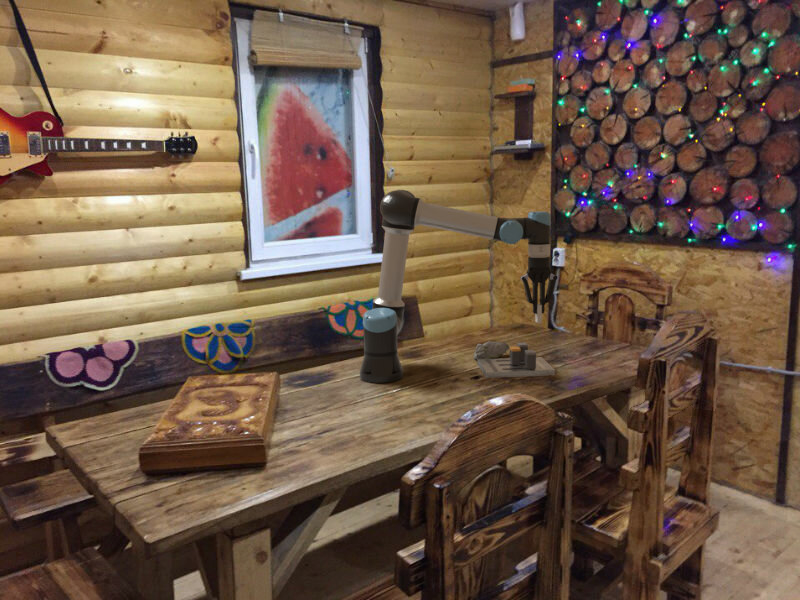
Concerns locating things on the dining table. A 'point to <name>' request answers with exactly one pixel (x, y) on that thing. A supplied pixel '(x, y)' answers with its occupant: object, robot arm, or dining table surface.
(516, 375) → the panel
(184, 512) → the dining table surface
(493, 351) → the mineral specimen
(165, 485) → the dining table surface
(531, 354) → the breaker near
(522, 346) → the breaker far
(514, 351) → the breaker middle
